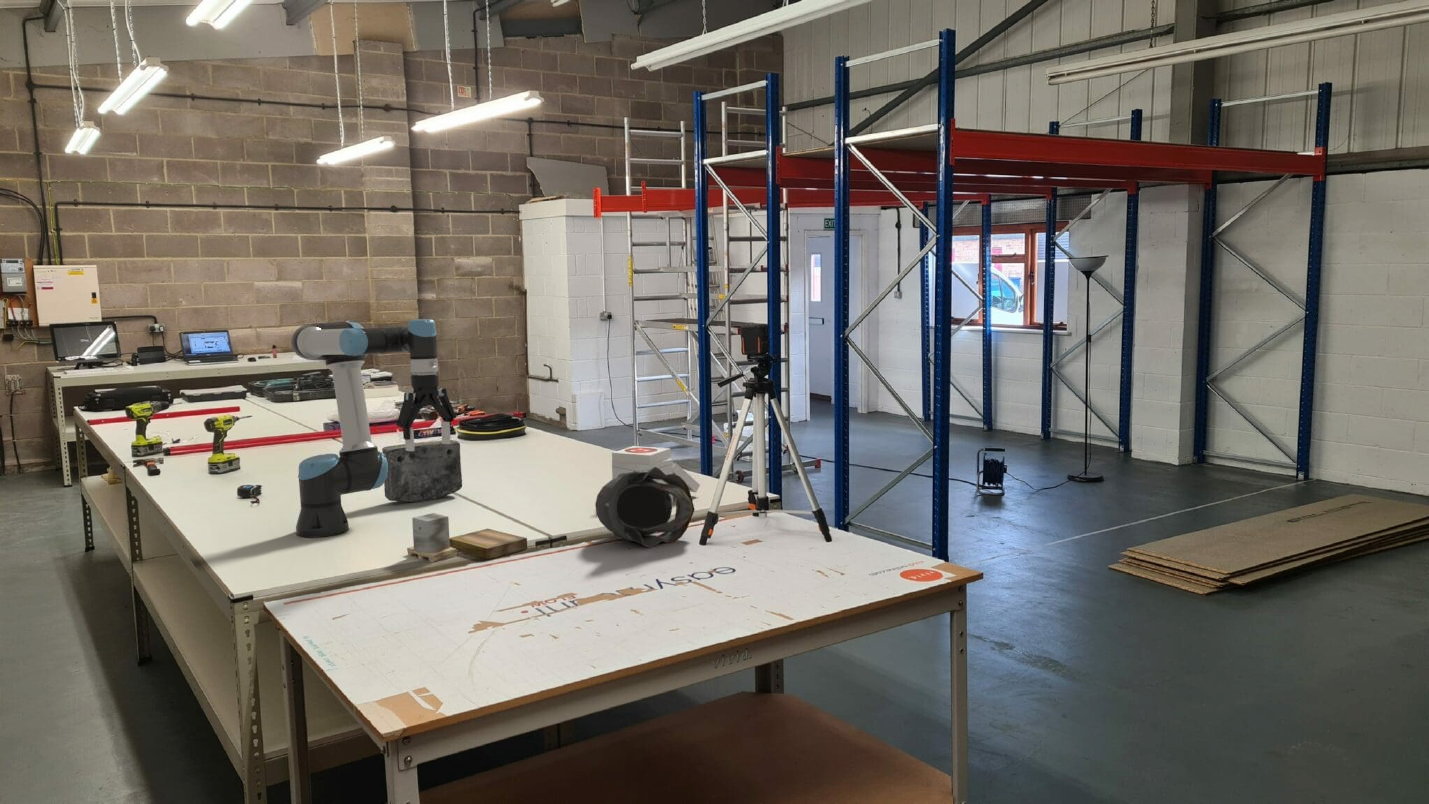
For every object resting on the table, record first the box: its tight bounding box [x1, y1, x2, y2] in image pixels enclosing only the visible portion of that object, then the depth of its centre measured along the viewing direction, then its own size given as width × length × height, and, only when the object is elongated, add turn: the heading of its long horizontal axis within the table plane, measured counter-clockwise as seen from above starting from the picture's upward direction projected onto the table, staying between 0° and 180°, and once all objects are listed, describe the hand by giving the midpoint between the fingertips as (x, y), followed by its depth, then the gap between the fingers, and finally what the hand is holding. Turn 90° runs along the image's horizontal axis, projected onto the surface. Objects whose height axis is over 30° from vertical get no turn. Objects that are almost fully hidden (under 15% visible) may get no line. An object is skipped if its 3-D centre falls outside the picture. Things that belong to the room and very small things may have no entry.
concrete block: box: [381, 439, 463, 503], centre depth 345 cm, size 27×9×20 cm, turn 125°
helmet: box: [595, 467, 695, 549], centre depth 290 cm, size 23×32×25 cm
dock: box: [449, 528, 528, 560], centre depth 282 cm, size 14×18×3 cm
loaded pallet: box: [406, 512, 458, 563], centre depth 275 cm, size 8×12×11 cm, turn 51°
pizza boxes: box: [611, 445, 701, 503], centre depth 343 cm, size 19×30×18 cm, turn 135°
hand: (428, 447), depth 282 cm, fingers open, 13 cm apart
